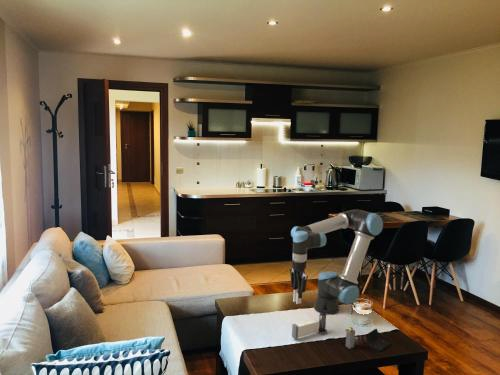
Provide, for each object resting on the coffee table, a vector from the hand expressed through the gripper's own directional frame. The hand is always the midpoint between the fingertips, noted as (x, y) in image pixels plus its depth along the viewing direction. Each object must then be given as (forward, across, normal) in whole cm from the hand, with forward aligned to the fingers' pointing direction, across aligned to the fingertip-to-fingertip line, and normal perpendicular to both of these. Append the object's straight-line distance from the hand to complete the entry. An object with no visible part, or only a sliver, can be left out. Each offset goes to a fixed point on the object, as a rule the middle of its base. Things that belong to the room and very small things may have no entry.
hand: (297, 302), depth 223 cm
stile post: (+16, +26, +15) cm, 34 cm away
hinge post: (+16, +8, +12) cm, 22 cm away
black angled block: (+17, +30, +30) cm, 46 cm away
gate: (+15, +7, +1) cm, 17 cm away
